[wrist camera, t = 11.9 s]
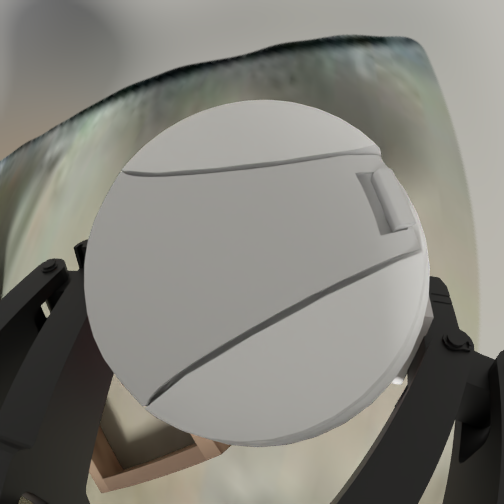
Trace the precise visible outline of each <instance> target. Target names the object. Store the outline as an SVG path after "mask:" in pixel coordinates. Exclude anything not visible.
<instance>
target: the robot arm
mask: <svg viewBox="0 0 504 504" xmlns="http://www.w3.org/2000/svg"><path fill="white" fill-rule="evenodd" d="M87 242H88V240H85V241H82V242H80V243H79V244H77V245H76V246H75V247H74V250H75V254H76V258H77V261H78V265H79V270H78V271H68V270H67V267H66V264H65V262H64V260H62V259H55V258H54V259H49V260H47V261H46V262H44V263H42V264H41V265H39V266H38V267H37V268H36V269H34V270H33V271H32V272H31V273H30V274H29V275H28V276H26V277H25V278H24V279H23V280H22V281H21V282H20V283H19V284H18V285H16V286H15V287H14V288H13V289H12V290H11V291H10V292H9V293H8V294H7V295H6V296H5V297H4V298H3V299H2V300H0V504H18V502H19V499H20V497H21V496H23V497H24V498H26V499H28V500H29V501H31V502H33V503H34V504H90V503H89V500H88V497H87V495H86V484H87V479H88V474H89V469H90V464H91V459H92V455H93V450H94V446H95V441H96V437H97V433H98V429H99V425H100V421H101V417H102V413H103V409H104V406H105V402H106V398H107V395H108V391H109V388H110V384H111V381H112V377H113V374H114V372H113V371H112V370H111V368H110V367H109V365H108V364H107V363H106V361H105V360H104V358H103V356H102V354H101V352H100V350H99V348H98V346H97V343H96V341H95V339H94V337H93V334H92V330H91V326H90V322H89V319H88V315H87V308H86V300H85V292H84V263H85V256H86V249H87ZM449 297H450V295H449V292H448V289H447V286H446V285H445V284H444V283H443V282H442V280H441V279H440V278H438V277H432V276H430V277H429V297H428V302H427V307H426V312H425V316H424V320H423V325H422V328H421V330H420V333H419V335H418V338H417V340H416V342H415V345H414V347H413V349H412V352H411V354H410V356H409V357H408V359H407V360H406V362H405V364H404V365H403V367H402V368H401V370H400V371H399V373H398V374H397V376H396V377H395V379H394V380H393V382H392V383H394V384H402V382H403V380H404V378H405V377H406V375H408V385H407V386H406V388H405V390H404V392H403V393H402V395H401V397H400V398H399V400H398V402H397V403H396V405H395V408H394V410H393V412H392V413H391V415H390V417H389V419H388V420H387V422H386V424H385V426H384V427H383V429H382V431H381V432H380V434H379V435H378V437H377V439H376V440H375V442H374V443H373V445H372V446H371V448H370V450H369V451H368V453H367V454H366V456H365V457H364V459H363V460H362V462H361V463H360V464H359V466H358V467H357V469H356V470H355V472H354V473H353V474H352V476H351V477H350V478H349V480H348V481H347V483H346V484H345V485H344V487H343V488H342V489H341V490H340V492H339V493H338V494H337V496H336V497H335V498H334V499H333V501H332V502H331V503H330V504H418V502H419V501H420V499H421V497H422V495H423V493H424V491H425V489H426V487H427V485H428V483H429V481H430V479H431V477H432V475H433V473H434V470H435V468H436V466H437V464H438V462H439V459H440V457H441V455H442V452H443V450H444V447H445V445H446V442H447V440H448V437H449V435H450V432H451V429H452V426H453V424H454V421H455V430H454V440H453V448H452V456H451V462H450V469H449V475H448V480H447V485H446V490H445V495H444V500H443V504H504V350H503V351H501V352H500V353H499V355H498V356H497V358H496V359H495V360H494V359H492V358H489V357H487V356H484V355H482V354H480V353H478V352H476V351H474V344H473V342H472V340H471V338H470V337H469V336H468V335H467V334H466V333H465V332H463V331H461V330H460V329H459V327H458V323H457V319H456V316H455V312H454V309H453V305H452V302H451V298H449ZM45 301H46V304H47V306H48V309H49V311H50V315H49V317H48V318H46V317H45V315H44V313H43V310H42V308H41V305H42V304H43V303H44V302H45Z"/></svg>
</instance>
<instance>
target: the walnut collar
mask: <svg viewBox="0 0 504 504" xmlns="http://www.w3.org/2000/svg"><path fill="white" fill-rule="evenodd" d="M191 436H192V438H193V439H194V441H195V443H194V444H191V445H189V446H186V447H184V448H182V449H179V450H177V451H174V452H172V453H169V454H167V455H164V456H161V457H159V458H156V459H153V460H151V461H148V462H145V463H142V464H139V465H136V466H133V467H130V468H127V469H124V470H123V469H122V467H121V465H120V463H119V462H118V460H117V458H116V456H115V454H114V453H113V451H112V449H111V447H110V445H109V443H108V441H107V439H106V437H105V435H104V433H103V431H102V429H101V427H100V425H99V429H98V433H97V437H96V441H95V446H94V450H93V455H92V459H91V464H90V469H89V473H90V474H91V476H92V478H93V480H94V481H95V483H96V485H97V487H98V488H99V490H100V492H101V493H105V492H109V491H113V490H117V489H121V488H125V487H129V486H133V485H136V484H140V483H143V482H146V481H150V480H153V479H156V478H159V477H162V476H165V475H168V474H171V473H174V472H177V471H180V470H183V469H185V468H188V467H191V466H194V465H196V464H199V463H201V462H204V461H206V460H209V459H211V458H214V457H216V456H219V455H221V454H222V453H223V452H225V451H226V450H227V449H228V448H229V447H230V446H231V445H228V444H224V443H221V442H217V441H213V440H210V439H206V438H203V437H200V436H196V435H193V434H191Z"/></svg>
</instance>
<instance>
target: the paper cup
mask: <svg viewBox="0 0 504 504" xmlns="http://www.w3.org/2000/svg"><path fill="white" fill-rule="evenodd" d="M121 171H122V172H120V173H119V175H118V176H117V178H116V180H115V181H114V183H113V185H112V186H111V188H110V190H109V192H108V194H107V195H106V197H105V199H104V201H103V203H102V205H101V207H100V209H99V212H98V214H97V216H96V218H95V220H94V223H93V226H92V229H91V233H90V236H89V239H88V242H87V249H86V256H85V263H84V292H85V300H86V308H87V315H88V319H89V322H90V326H91V330H92V334H93V337H94V339H95V341H96V343H97V346H98V348H99V350H100V352H101V354H102V356H103V358H104V360H105V361H106V363H107V364H108V365H109V367H110V368H111V370H112V371H113V372H114V374H115V375H116V376H117V378H118V379H119V380H120V382H121V383H122V384H123V385H124V386H125V388H126V389H127V390H128V391H129V392H130V393H131V394H132V395H133V397H134V398H135V399H136V400H137V401H138V402H139V403H140V404H141V405H142V406H147V407H146V408H145V409H146V410H147V411H148V412H150V413H151V414H152V415H154V416H155V417H156V418H158V419H160V420H162V421H164V422H165V423H167V424H169V425H171V426H173V427H175V428H177V429H179V430H181V431H184V432H187V433H190V434H193V435H196V436H200V437H203V438H206V439H210V440H213V441H217V442H221V443H224V444H228V445H238V446H249V447H267V446H278V445H288V444H292V443H296V442H299V441H303V440H307V439H310V438H314V437H317V436H319V435H321V434H323V433H326V432H328V431H330V430H332V429H334V428H336V427H338V426H340V425H342V424H344V423H346V422H347V421H349V420H350V419H352V418H353V417H354V416H356V415H357V414H359V413H360V412H361V411H363V410H364V409H365V408H367V407H368V406H369V405H371V404H372V403H373V402H374V401H375V400H376V399H377V398H378V397H379V395H380V394H381V393H382V392H383V391H384V390H385V389H386V388H387V387H388V386H389V385H390V384H391V383H392V382H393V380H394V379H395V377H396V376H397V374H398V373H399V371H400V370H401V368H402V367H403V365H404V364H405V362H406V360H407V359H408V357H409V356H410V354H411V352H412V349H413V347H414V345H415V342H416V340H417V338H418V335H419V333H420V330H421V328H422V325H423V320H424V316H425V312H426V307H427V302H428V297H429V277H430V265H429V257H428V250H427V244H426V238H425V235H424V232H423V228H422V225H421V222H420V219H419V216H418V214H417V211H416V209H415V207H414V206H413V204H412V202H411V200H410V198H409V196H408V194H407V192H406V191H405V189H404V187H403V186H402V185H401V183H400V182H399V181H398V179H397V178H396V176H395V174H394V172H393V170H392V169H389V168H388V167H387V166H386V164H385V163H384V162H383V160H382V158H381V151H380V148H379V147H378V146H377V145H376V144H375V143H374V142H373V141H372V140H371V139H369V138H368V137H367V136H366V135H365V134H364V133H362V132H361V131H360V130H359V129H357V128H355V127H354V126H352V125H351V124H349V123H347V122H346V121H344V120H342V119H341V118H339V117H337V116H334V115H332V114H330V113H327V112H325V111H322V110H320V109H318V108H315V107H311V106H307V105H303V104H299V103H295V102H288V101H278V100H247V101H240V102H234V103H228V104H223V105H220V106H216V107H213V108H210V109H207V110H203V111H201V112H198V113H196V114H194V115H192V116H189V117H187V118H185V119H183V120H181V121H179V122H177V123H176V124H174V125H172V126H171V127H169V128H167V129H166V130H164V131H162V132H161V133H160V134H158V135H157V136H156V137H154V138H153V139H152V140H151V141H149V142H148V143H147V144H146V145H144V146H143V147H142V148H141V149H140V150H139V151H138V152H137V153H136V154H135V155H134V156H133V157H132V158H131V159H130V160H129V161H128V162H127V164H126V165H125V166H124V167H123V169H122V170H121Z"/></svg>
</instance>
